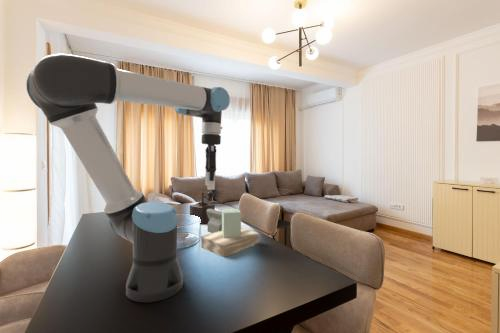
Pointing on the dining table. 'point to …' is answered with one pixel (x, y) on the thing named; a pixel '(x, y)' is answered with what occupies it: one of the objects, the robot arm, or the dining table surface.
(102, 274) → the dining table surface
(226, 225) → the sage block
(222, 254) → the birch box
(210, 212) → the digital clock
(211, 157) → the robot arm
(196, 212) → the dark brown irregular piece
